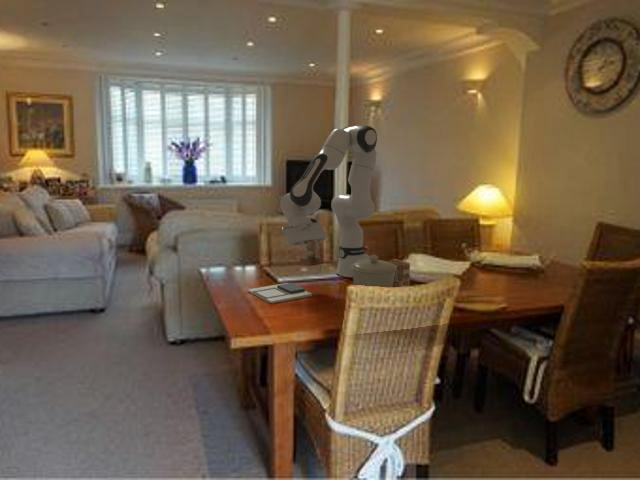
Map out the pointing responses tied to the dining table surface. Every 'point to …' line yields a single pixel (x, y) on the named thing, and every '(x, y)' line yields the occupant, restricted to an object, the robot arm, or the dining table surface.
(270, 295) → the stamp board
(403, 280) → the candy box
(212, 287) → the dining table surface
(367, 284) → the canister
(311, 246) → the stamp
